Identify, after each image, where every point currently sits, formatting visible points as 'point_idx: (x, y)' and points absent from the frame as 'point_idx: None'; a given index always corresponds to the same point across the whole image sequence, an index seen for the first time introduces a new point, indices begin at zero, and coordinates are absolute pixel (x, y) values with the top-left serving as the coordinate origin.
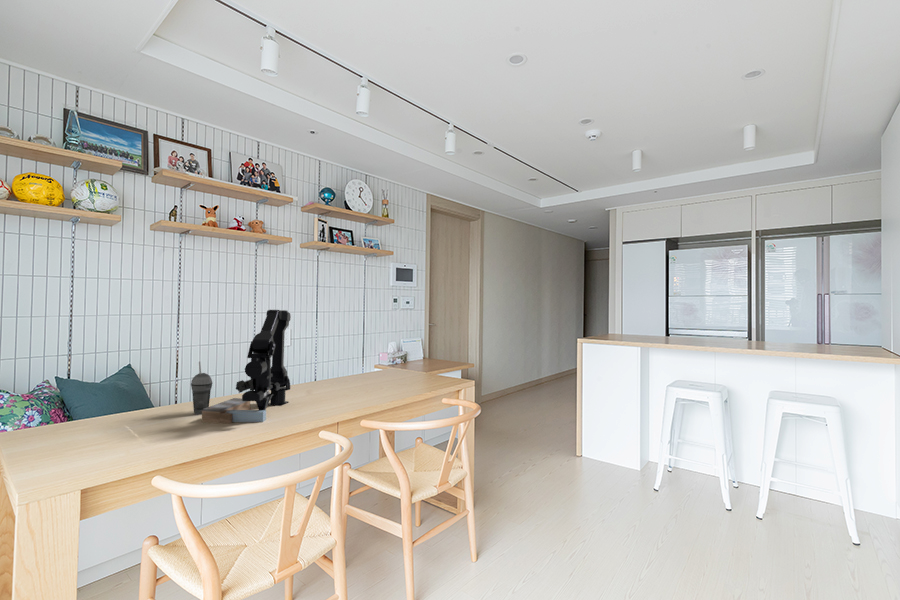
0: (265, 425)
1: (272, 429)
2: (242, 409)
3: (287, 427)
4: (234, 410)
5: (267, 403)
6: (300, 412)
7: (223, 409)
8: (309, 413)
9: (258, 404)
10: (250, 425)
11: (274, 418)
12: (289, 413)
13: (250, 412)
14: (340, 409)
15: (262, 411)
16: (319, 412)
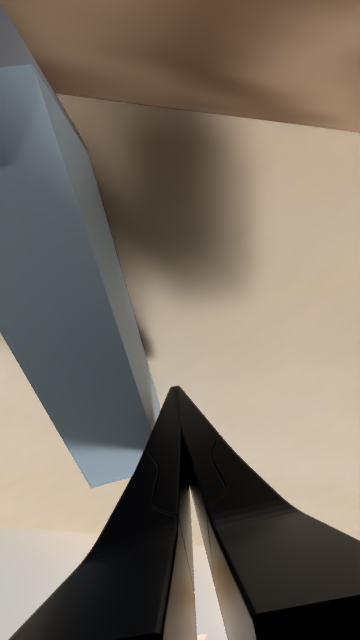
0: (68, 450)
1: (21, 508)
2: (346, 91)
3: (79, 530)
4: (14, 140)
5: (201, 530)
6: (318, 449)
7: None
8: (300, 483)
9: (138, 489)
10: (29, 384)
11: (207, 413)
12: (304, 421)
13: (44, 403)
14: (347, 524)
15: (109, 473)
16: (313, 500)
